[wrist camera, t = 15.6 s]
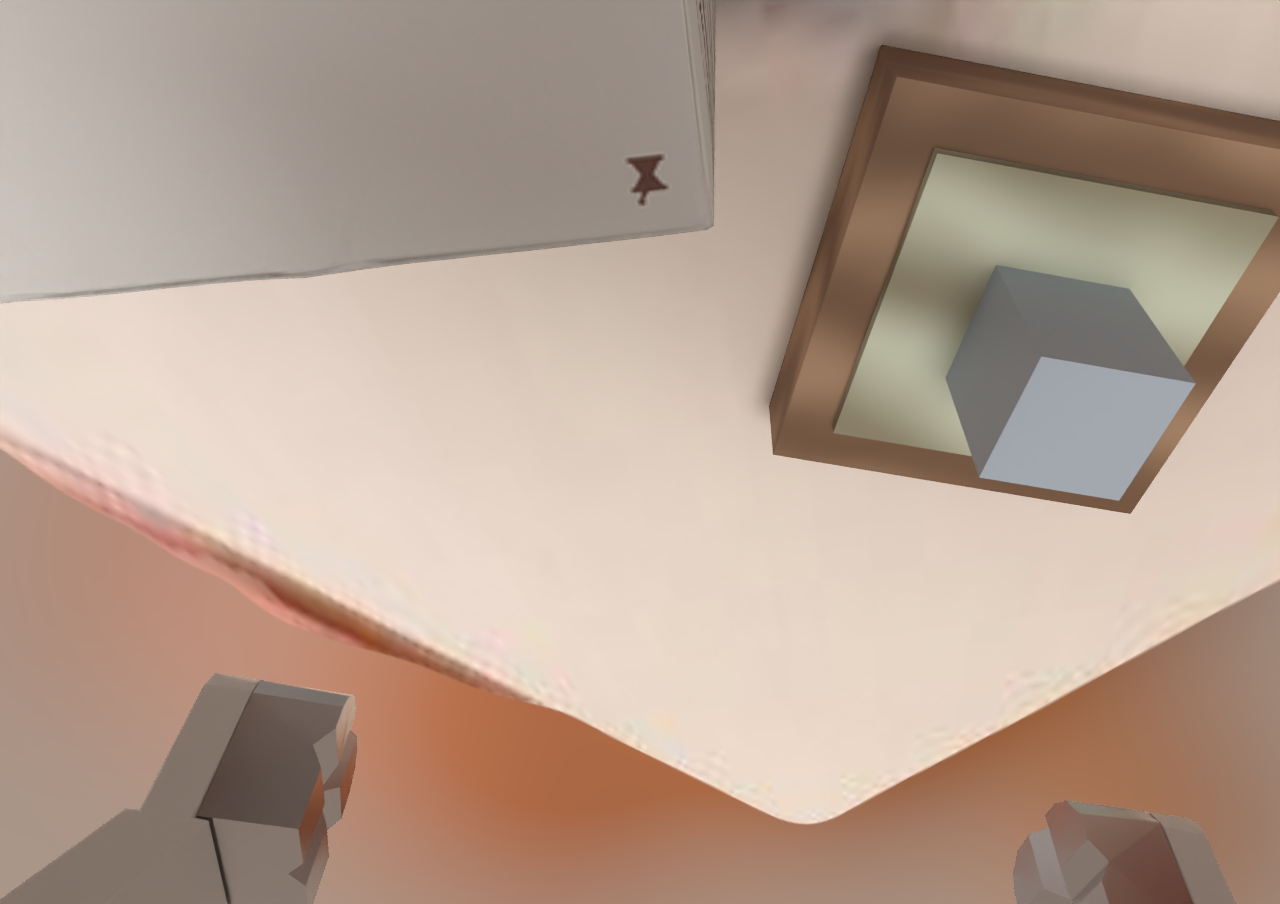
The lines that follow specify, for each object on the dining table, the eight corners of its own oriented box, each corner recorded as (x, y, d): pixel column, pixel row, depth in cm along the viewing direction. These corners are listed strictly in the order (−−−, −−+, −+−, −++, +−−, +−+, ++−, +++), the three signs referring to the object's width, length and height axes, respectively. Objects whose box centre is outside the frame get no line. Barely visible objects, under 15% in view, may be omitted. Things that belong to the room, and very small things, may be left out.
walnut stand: (881, 45, 33) (899, 81, 30) (1312, 127, 34) (1372, 171, 31) (769, 406, 43) (773, 461, 40) (1104, 463, 44) (1134, 521, 41)
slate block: (996, 264, 34) (1041, 356, 29) (1129, 288, 34) (1195, 383, 30) (945, 378, 37) (979, 477, 32) (1068, 399, 37) (1118, 500, 33)
